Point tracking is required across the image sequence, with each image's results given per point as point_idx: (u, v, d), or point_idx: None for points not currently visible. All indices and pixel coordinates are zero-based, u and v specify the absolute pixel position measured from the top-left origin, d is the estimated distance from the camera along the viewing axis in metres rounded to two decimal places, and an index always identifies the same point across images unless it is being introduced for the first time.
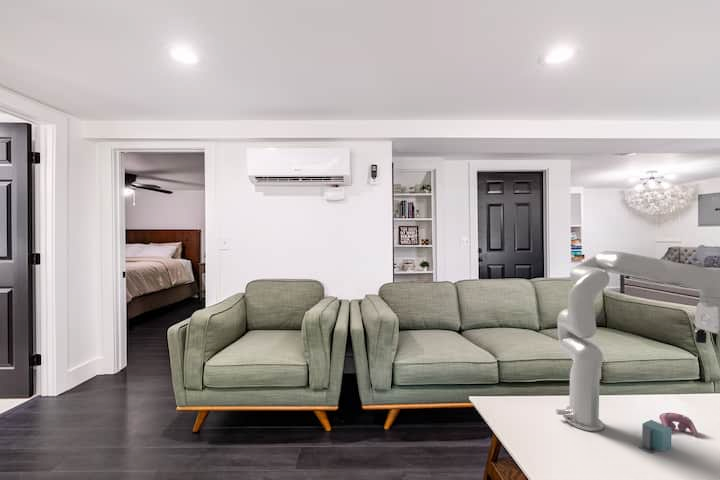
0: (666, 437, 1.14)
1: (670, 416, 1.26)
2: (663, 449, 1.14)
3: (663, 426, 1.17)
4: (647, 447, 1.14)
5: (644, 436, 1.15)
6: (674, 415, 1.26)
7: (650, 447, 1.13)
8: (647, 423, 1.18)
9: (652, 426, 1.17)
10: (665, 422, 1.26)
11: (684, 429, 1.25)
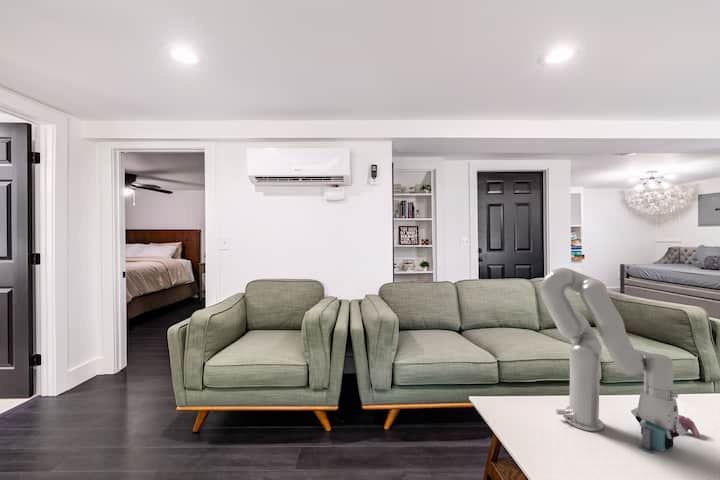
0: None
1: None
2: (663, 449, 1.14)
3: None
4: (647, 447, 1.14)
5: (644, 436, 1.15)
6: None
7: (650, 447, 1.13)
8: (647, 423, 1.18)
9: (652, 426, 1.17)
10: None
11: (686, 430, 1.24)
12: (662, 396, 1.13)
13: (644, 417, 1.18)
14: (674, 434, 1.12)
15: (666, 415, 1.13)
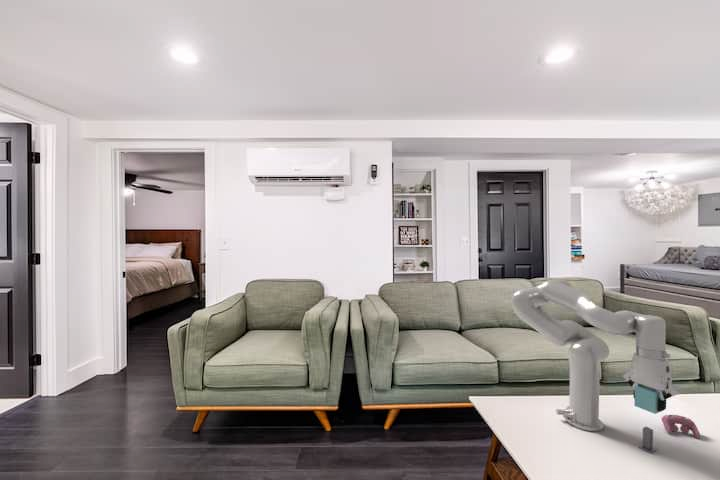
0: None
1: (672, 418, 1.25)
2: (656, 411, 1.11)
3: None
4: (647, 447, 1.14)
5: (644, 436, 1.15)
6: (676, 417, 1.25)
7: (650, 447, 1.13)
8: (639, 386, 1.16)
9: (644, 389, 1.14)
10: (667, 424, 1.24)
11: (687, 431, 1.24)
12: (654, 357, 1.10)
13: (636, 380, 1.16)
14: (667, 395, 1.09)
15: (658, 376, 1.10)
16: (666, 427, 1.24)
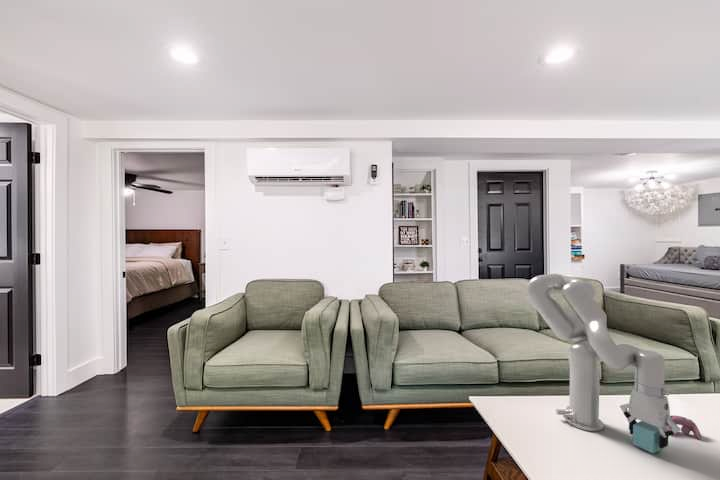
0: (657, 438, 1.12)
1: (673, 419, 1.25)
2: (654, 451, 1.11)
3: (654, 427, 1.14)
4: None
5: None
6: (677, 418, 1.24)
7: None
8: (637, 424, 1.16)
9: (643, 427, 1.14)
10: None
11: (688, 432, 1.23)
12: (653, 394, 1.11)
13: (635, 415, 1.16)
14: (669, 433, 1.09)
15: (657, 413, 1.10)
16: (667, 428, 1.24)
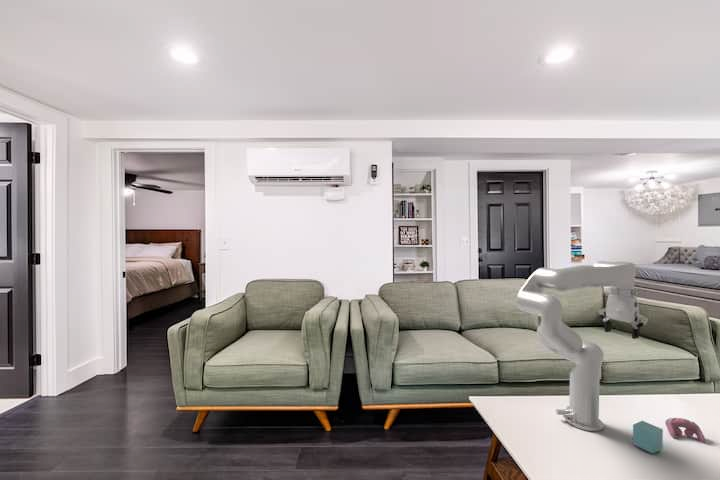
0: (657, 438, 1.12)
1: (676, 421, 1.23)
2: (654, 451, 1.11)
3: (654, 427, 1.14)
4: None
5: None
6: (681, 421, 1.22)
7: None
8: (637, 424, 1.16)
9: (643, 427, 1.14)
10: (672, 428, 1.22)
11: (691, 435, 1.21)
12: (625, 294, 1.33)
13: (611, 316, 1.38)
14: (639, 324, 1.30)
15: (628, 310, 1.32)
16: (670, 431, 1.22)
